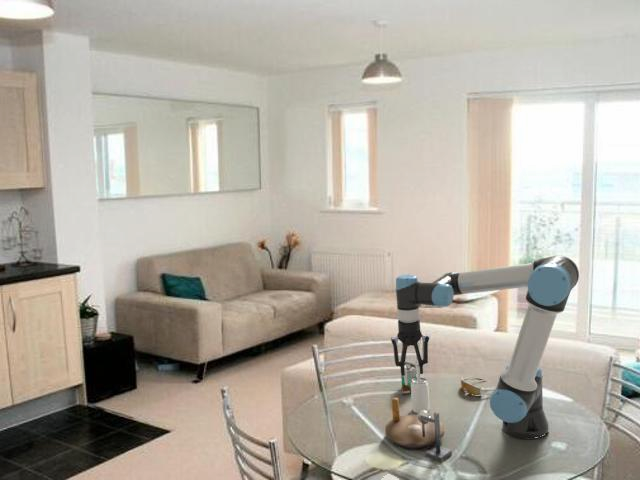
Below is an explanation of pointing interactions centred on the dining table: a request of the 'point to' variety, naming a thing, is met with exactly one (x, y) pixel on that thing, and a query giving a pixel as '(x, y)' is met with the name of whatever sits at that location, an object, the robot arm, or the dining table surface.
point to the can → (419, 395)
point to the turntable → (409, 429)
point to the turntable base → (415, 446)
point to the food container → (409, 378)
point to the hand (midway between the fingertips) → (412, 383)
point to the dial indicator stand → (437, 450)
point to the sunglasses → (473, 387)
